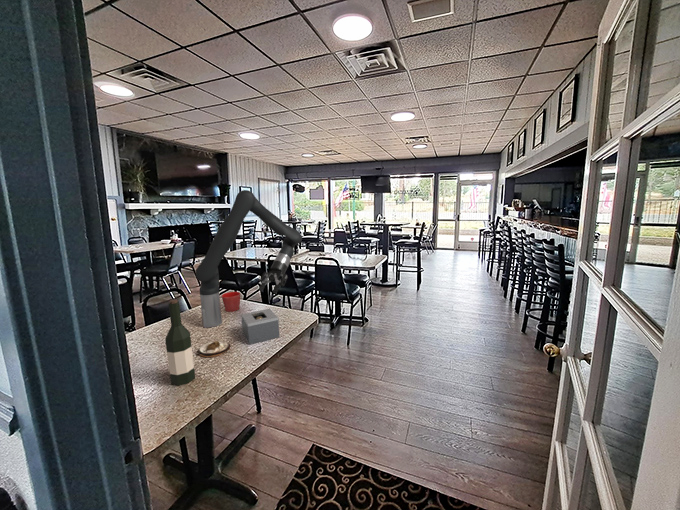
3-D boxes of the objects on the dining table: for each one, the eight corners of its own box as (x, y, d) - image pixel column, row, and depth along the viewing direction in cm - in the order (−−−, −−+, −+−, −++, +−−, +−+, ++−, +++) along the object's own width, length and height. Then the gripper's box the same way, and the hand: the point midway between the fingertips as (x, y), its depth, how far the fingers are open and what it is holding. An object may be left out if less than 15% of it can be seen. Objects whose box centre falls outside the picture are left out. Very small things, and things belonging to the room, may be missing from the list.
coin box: (249, 345, 135) (247, 324, 133) (242, 333, 147) (240, 314, 145) (279, 337, 141) (278, 317, 140) (270, 327, 153) (269, 308, 152)
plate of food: (212, 363, 121) (211, 354, 120) (188, 355, 128) (187, 346, 127) (240, 347, 133) (239, 339, 133) (217, 341, 140) (216, 332, 140)
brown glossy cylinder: (256, 336, 143) (255, 318, 141) (258, 334, 146) (257, 316, 144) (262, 336, 143) (261, 318, 141) (264, 334, 146) (263, 316, 144)
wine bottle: (176, 373, 113) (166, 297, 108) (199, 371, 114) (190, 296, 109) (166, 386, 105) (154, 305, 100) (190, 385, 106) (180, 303, 101)
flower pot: (219, 312, 176) (217, 296, 174) (229, 306, 186) (227, 291, 185) (236, 313, 174) (234, 297, 172) (244, 306, 185) (243, 291, 183)
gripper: (266, 259, 155) (252, 286, 147) (288, 261, 148) (274, 289, 140) (273, 267, 160) (260, 293, 152) (295, 269, 154) (282, 297, 146)
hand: (267, 291), depth 146 cm, fingers open, 8 cm apart
